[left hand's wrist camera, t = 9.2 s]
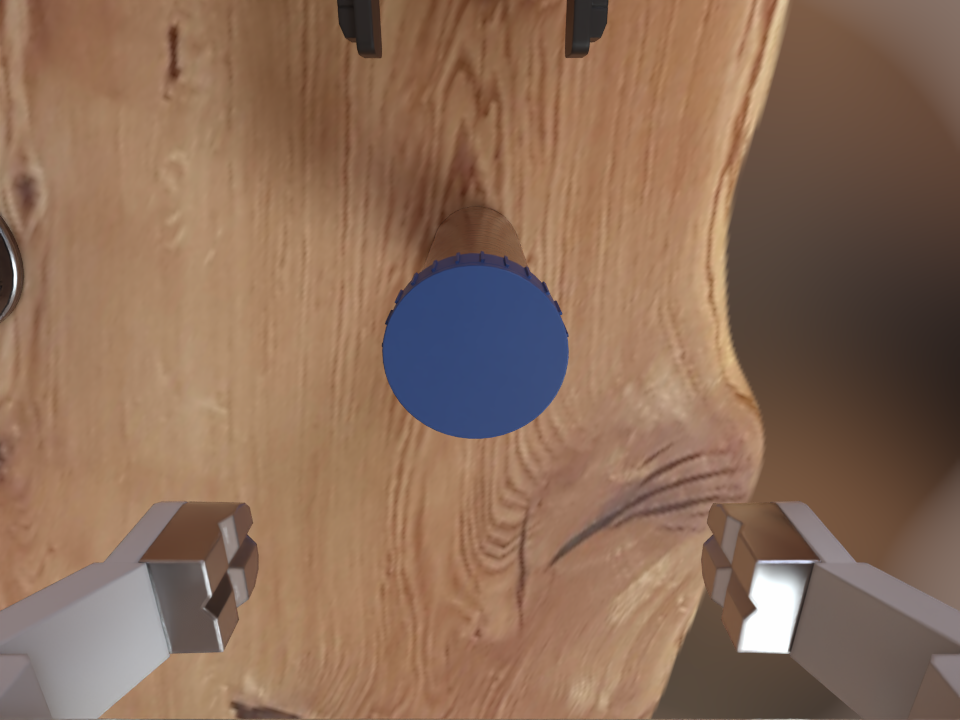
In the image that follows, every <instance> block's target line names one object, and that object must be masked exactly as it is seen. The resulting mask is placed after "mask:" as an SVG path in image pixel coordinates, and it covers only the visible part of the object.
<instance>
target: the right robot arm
mask: <svg viewBox="0 0 960 720" xmlns="http://www.w3.org/2000/svg"><path fill="white" fill-rule="evenodd" d="M337 4H338V17H339V25H340V27H341V29H342V32H343V34H344V36H345V38H346V39H348V40H349V41H351V42H356V43H357V50H358V53H359V55H360V56H362V57H364V58H381V57H382V43H381V26H380V9H379V0H337ZM607 13H608V0H567V12H566V36H565V57H566V58H583V57H584V56H586V55H587V54H588V51H589V45H590V42H595V41H597V40H598V39H600V38H601V36H602V34H603V31H604V29H605V26H606V24H607ZM23 280H24V273H23V263H22V258H21V254H20V251H19V248H18V245H17V243H16V241H15V238H14V236H13V235H12V233H11V231H10V229H9V227H8V226H7V224H6V223H5V221H4V220H3V219H2V217H1V216H0V322H2V321H3V320H4V319H6V318H7V317H8V316H9V315H10V314H11V312H12V311H13V310H14V308H15V307H16V305H17V303H18V301H19V299H20V296H21V293H22V288H23Z"/></svg>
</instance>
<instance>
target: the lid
mask: <svg viewBox="0 0 960 720" xmlns="http://www.w3.org/2000/svg"><path fill="white" fill-rule="evenodd" d="M395 303H396V305H395V307H394V310H391V311H390V313H389V316H388V318H387V320H386V322H385V324H386V325H387V326H386V330H385V334H384V339H383V343H382V347H383V350H382V352H383V364H384V369H385V374H386V377H387V379H388V382H389V385H390V387H391V389H392V391H393V393H394V394H395V396H396V397H397V399H398V400H399V402H400V403H401V404H402V405H403V406H404V408H405V409H406V410H407V411H408V412H409V413H410V414H411V415H413V416H414V417H415V418H416V419H417V420H419V421H420V422H422V423H423V424H425V425H426V426H428V427H430V428H432V429H434V430H436V431H439V432H441V433H444V434H447V435H451V436H455V437H461V438H469V439H482V438H491V437H496V436H500V435H504V434H507V433H510V432H513V431H515V430H517V429H519V428H521V427H523V426H525V425H526V424H528V423H529V422H531V421H532V420H534V419H535V418H536V417H537V416H539V415H540V414H541V413H542V412H543V411H544V410H545V409H546V408H547V407H548V406H549V404H550V403H551V402H552V400H553V399H554V398H555V396H556V395H557V393H558V391H559V389H560V387H561V385H562V382H563V380H564V377H565V374H566V369H567V365H568V358H569V356H568V353H569V350H568V339H567V337H569V336H568V332H567V330H566V328H565V325H564V323H563V321H562V319H561V316H560V315H562V312H561V310H560V308H559V305H558V303H557V301H553V299H552V297H551V295H550V293H549V290H548V288H547V286H546V283H545V282H544V281H543V282H542V283H541V281H540V280H539V279H538V278H537V277H536V276H535V275H533V274H532V273H531V272H530V270H529V268H528V267H527V266H526V267H525V268H524V267H522V266H521V265H519V264H517V263H515V262H513V261H511V260H508V257H507V256H504V258H503V257H499V256H496V255H490V254H484V251H481V253H469V254H461V255H460V252H459V253H456V256H452V257H448V258H445V259H443V260H440V261H437V260H435V261H434V262H433V264H432V265H430V266H429V267H427V268H425V269H424V270H423V271H422V272H420V273H419V274H418V273H417V272H416V273H415V274H414V276H413V279H412V281H411V282H410V283H409V284H408V285H407V286H406V288H405V289H404V290H400V292H399V294H398V296H397V298H396V301H395Z"/></svg>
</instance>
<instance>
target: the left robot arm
mask: <svg viewBox="0 0 960 720" xmlns="http://www.w3.org/2000/svg"><path fill="white" fill-rule="evenodd" d="M252 524H253V521H252V516H251V511H250V507H249V506H248V505H247V504H245V503H234V502H185V501H161V502H158V503H156V504H153V505H152V507H151V508H150V509H149V510H148V511H147V512H146V514H145V515H144V516H143V517H142V518H141V519H140V521H139V522H138V523H137V524H136V525H135V526H134V527H133V529H132V530H131V531H130V532H129V533H128V534H127V536H126V537H125V538H124V539H123V540H122V541H121V543H120V544H119V545H118V546H117V547H116V548H115V550H114V551H113V552H112V553H111V554H110V555H109V556H108V558H107V559H106V560H105V561H104V562H103V563H92V564H90V565H88V566H87V567H85V568H83V569H81V570H79V571H77V572H75V573H73V574H71V575H69V576H67V577H65V578H63V579H61V580H59V581H57V582H56V583H54V584H52V585H50V586H48V587H46V588H44V589H42V590H40V591H38V592H36V593H34V594H32V595H30V596H28V597H26V598H24V599H23V600H21V601H19V602H17V603H15V604H13V605H11V606H9V607H7V608H5V609H3V610H1V611H0V720H960V611H959V610H957V609H955V608H953V607H951V606H949V605H947V604H945V603H943V602H941V601H939V600H937V599H935V598H933V597H931V596H930V595H928V594H926V593H924V592H922V591H920V590H918V589H916V588H914V587H912V586H910V585H908V584H906V583H904V582H902V581H901V580H898V579H897V578H895V577H893V576H891V575H889V574H887V573H885V572H883V571H881V570H879V569H877V568H875V567H873V566H871V565H870V564H868V563H857V562H856V561H855V560H854V559H853V558H852V557H851V555H850V554H849V553H848V552H847V551H846V550H845V548H844V547H843V546H842V545H841V544H840V543H839V541H838V540H837V539H836V538H835V537H834V536H833V534H832V533H831V532H830V531H829V530H828V529H827V528H826V526H825V525H824V524H823V523H822V522H821V521H820V519H819V518H818V517H817V516H816V515H815V514H814V512H813V511H812V510H811V509H810V508H809V507H808V505H806V504H805V503H802V502H800V501H786V502H770V503H713V505H712V506H711V508H710V510H709V515H708V520H707V524H708V526H709V528H710V529H711V531H712V533H713V535H712V536H711V537H710V538H709V539H708V540H707V541H706V542H705V543H704V544H703V550H702V558H701V563H702V575H703V579H704V583H705V586H706V589H707V591H708V593H709V596H710V598H711V599H712V600H713V601H714V602H716V603H717V604H719V605H720V606H721V607H723V612H722V617H721V620H722V623H723V624H724V627H725V629H726V631H727V633H728V635H729V637H730V639H731V641H732V643H733V645H734V647H735V649H736V651H737V652H753V653H788V654H790V656H791V657H792V658H793V659H794V660H795V661H796V662H797V663H799V664H800V665H801V666H802V667H803V668H804V669H806V670H807V671H808V672H809V673H810V674H812V675H813V676H814V677H815V678H816V679H817V680H819V681H820V682H821V683H822V684H823V685H824V686H825V687H827V688H828V689H829V690H830V691H831V692H833V693H834V694H835V695H836V696H837V697H838V698H840V699H841V700H842V701H843V702H844V703H845V704H847V705H848V706H849V707H850V708H851V709H852V710H854V711H855V712H856V713H857V714H858V715H859V716H861V717H862V718H863V719H97V718H98V717H100V716H101V715H102V714H103V713H104V712H105V711H107V710H108V709H109V708H110V707H111V706H112V705H114V704H115V703H116V702H117V701H118V700H120V699H121V698H122V697H123V696H124V695H125V694H127V693H128V692H129V691H130V690H131V689H132V688H134V687H135V686H136V685H137V684H138V683H139V682H141V681H142V680H143V679H144V678H145V677H146V676H148V675H149V674H150V673H151V672H152V671H153V670H155V669H156V668H157V667H158V666H159V665H160V664H162V663H163V662H164V661H165V660H166V659H167V658H169V657H170V654H172V653H206V652H223V651H224V649H225V647H226V645H227V643H228V641H229V639H230V637H231V635H232V633H233V631H234V629H235V627H236V625H237V623H238V620H239V617H238V612H237V607H239V606H240V605H241V604H243V603H244V602H246V601H247V600H248V599H249V598H250V595H251V593H252V591H253V589H254V587H255V583H256V578H257V573H258V549H257V544H256V543H255V542H254V541H253V540H252V539H251V538H250V537H249V536H248V535H247V533H248V531H249V529H250V528H251V526H252Z"/></svg>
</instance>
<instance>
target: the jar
mask: <svg viewBox="0 0 960 720" xmlns="http://www.w3.org/2000/svg"><path fill="white" fill-rule="evenodd" d="M481 251H484V254H490V255H496V256H499V257H503V258H504V256H507V257H508V260H511V261H513V262H515V263H517V264H519V265H521V266H522V267H524V268H525V267H526V266H527V267H528V265H527V262H526V259H525V256H524V254H523V251H522V248H521V245H520V242H519V240H518V237H517V234H516V232H515V230H514V228H513V226H512V225H511V224H510V222H509V221H508V220H507V219H506V218H505V217H504V216H502V215H501V214H500V213H498V212H496V211H494V210H492V209H489V208H485V207H467V208H463V209H460V210H458V211H456V212H454V213H453V214H451V215H450V216H449V217H447V218H446V219H445V220H444V221H443V223H442V224H441V225H440V227H439V229H438V230H437V233H436V235H435V238H434V240H433V243H432V246H431V248H430V251H429V254H428V256H427V259H426V262H425V264H424V267H423V270H424V269H425V268H427V267H429V266H430V265H432V264H433V262H434V261H435V260H437V261H440V260H443V259H445V258H448V257H452V256H456V253H459V252H460V255H461V254H469V253H481ZM528 268H529V267H528ZM423 270H422V271H423Z"/></svg>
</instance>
